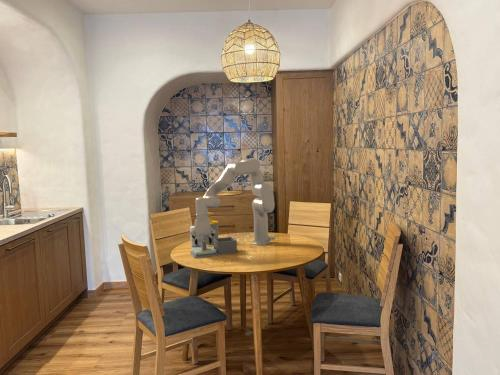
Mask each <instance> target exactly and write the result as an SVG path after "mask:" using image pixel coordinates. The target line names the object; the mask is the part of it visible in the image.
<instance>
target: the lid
mask: <svg viewBox="0 0 500 375" xmlns="http://www.w3.org/2000/svg"><path fill="white" fill-rule="evenodd" d="M191 251H193V252H194V253H195V255H206V254H213V253H216V250H215V249H214V246H213V245H207V244H206V241H205V240H201V247H197V248H191Z"/></svg>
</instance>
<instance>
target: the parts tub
mask: <svg viewBox="0 0 500 375" xmlns="http://www.w3.org/2000/svg"><path fill="white" fill-rule="evenodd" d="M237 243H238V242H237V239H235V238H234V237H232V236H225V237H218V238H215V239H214V244H213V248H214V249H215V250H216V253H217V256H222V255H232V254H237V253H238V245H237Z"/></svg>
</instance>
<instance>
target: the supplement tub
mask: <svg viewBox="0 0 500 375" xmlns="http://www.w3.org/2000/svg"><path fill="white" fill-rule="evenodd" d="M193 230H194V225H191V226H190V227H189V233H190V232H191V231H193ZM189 235H190V234H189ZM193 235H194V236H195V235H196V234H194V233H193ZM197 240H198V246H196V244H195V239H194V238H193V237H192V236H191V235H190V248H191V249H192V248H197V247H201V240H205V235H201V236H198V237H197Z"/></svg>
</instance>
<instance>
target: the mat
mask: <svg viewBox="0 0 500 375" xmlns="http://www.w3.org/2000/svg"><path fill="white" fill-rule="evenodd" d="M190 254H191V255H192V257H193V258H195V259H199V258H207V257H208V258H210V257H217V256H218V254H217V253H213V254H206V255H195V253H194V252H193V251H192V250H191V251H190Z"/></svg>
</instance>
